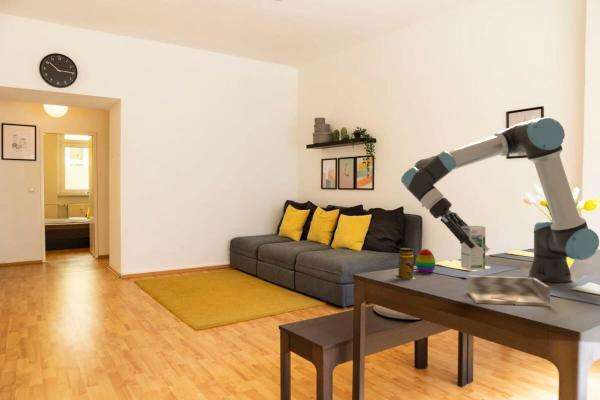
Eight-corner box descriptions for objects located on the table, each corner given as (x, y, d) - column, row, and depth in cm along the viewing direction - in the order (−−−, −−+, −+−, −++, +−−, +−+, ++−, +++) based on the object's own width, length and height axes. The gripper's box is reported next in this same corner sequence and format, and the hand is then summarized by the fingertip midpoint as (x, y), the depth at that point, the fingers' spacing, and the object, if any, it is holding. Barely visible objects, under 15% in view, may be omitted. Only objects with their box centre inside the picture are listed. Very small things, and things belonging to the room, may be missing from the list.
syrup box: (469, 270, 148) (470, 227, 148) (460, 267, 154) (460, 225, 153) (485, 269, 149) (486, 226, 149) (475, 266, 155) (476, 225, 155)
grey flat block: (534, 295, 154) (535, 277, 153) (549, 306, 140) (550, 287, 140) (467, 292, 158) (467, 275, 157) (475, 302, 144) (476, 284, 144)
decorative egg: (428, 269, 200) (428, 247, 200) (439, 272, 192) (439, 249, 192) (412, 270, 198) (412, 248, 197) (422, 274, 190) (423, 250, 189)
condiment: (415, 279, 179) (416, 249, 179) (394, 279, 180) (394, 249, 179) (412, 275, 186) (412, 247, 186) (392, 275, 187) (392, 247, 187)
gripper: (437, 209, 168) (481, 256, 160) (419, 212, 151) (468, 265, 143) (451, 195, 165) (498, 242, 157) (435, 197, 148) (486, 249, 139)
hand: (483, 253), depth 150 cm, fingers closed on syrup box, 8 cm apart
